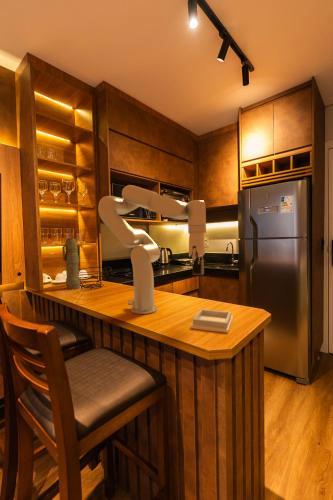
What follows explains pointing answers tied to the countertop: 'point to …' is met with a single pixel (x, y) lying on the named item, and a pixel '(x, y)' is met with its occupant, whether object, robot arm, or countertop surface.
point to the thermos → (71, 263)
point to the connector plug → (201, 267)
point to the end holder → (212, 320)
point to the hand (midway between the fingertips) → (198, 272)
